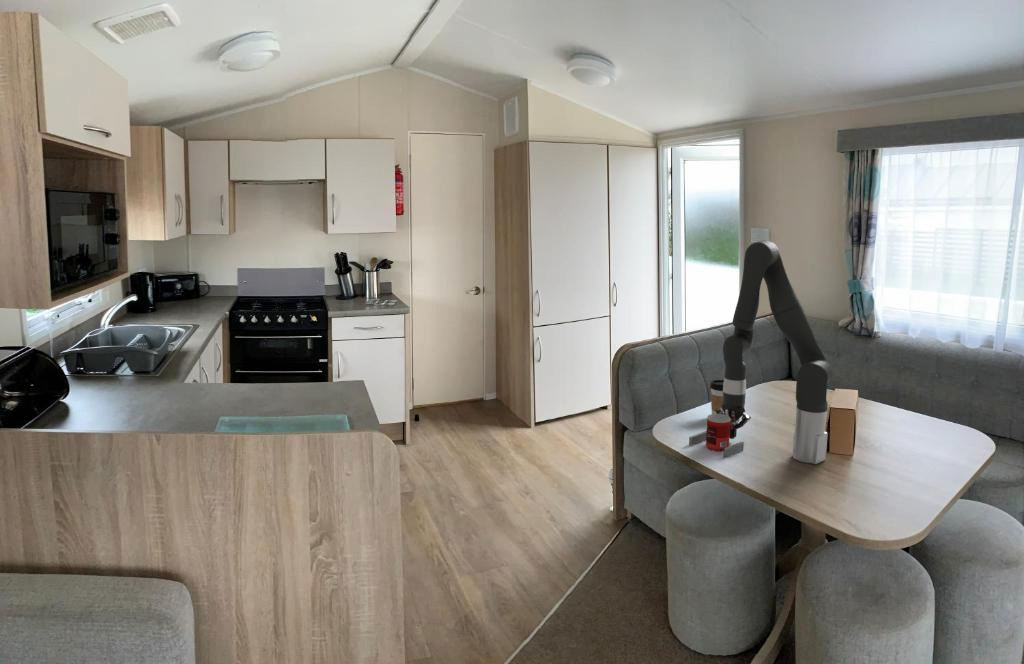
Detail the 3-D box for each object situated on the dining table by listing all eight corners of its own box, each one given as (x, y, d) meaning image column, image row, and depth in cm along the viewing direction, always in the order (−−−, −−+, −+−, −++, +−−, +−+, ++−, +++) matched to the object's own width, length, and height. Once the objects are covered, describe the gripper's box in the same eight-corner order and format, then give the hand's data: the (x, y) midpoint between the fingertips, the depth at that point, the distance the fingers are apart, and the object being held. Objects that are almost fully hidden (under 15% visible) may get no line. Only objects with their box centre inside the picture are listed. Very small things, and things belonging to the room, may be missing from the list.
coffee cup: (726, 423, 266) (728, 385, 263) (705, 419, 271) (707, 381, 268) (734, 417, 273) (736, 380, 270) (713, 413, 278) (715, 377, 275)
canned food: (731, 445, 244) (733, 415, 242) (725, 453, 237) (727, 422, 235) (708, 442, 248) (710, 412, 246) (703, 449, 241) (704, 418, 239)
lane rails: (743, 450, 240) (743, 442, 239) (726, 457, 234) (726, 449, 233) (706, 438, 251) (706, 430, 251) (688, 445, 245) (689, 436, 244)
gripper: (757, 392, 241) (754, 440, 245) (723, 384, 251) (720, 430, 255) (745, 397, 236) (742, 445, 240) (711, 388, 246) (709, 435, 250)
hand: (731, 438), depth 247 cm, fingers closed
